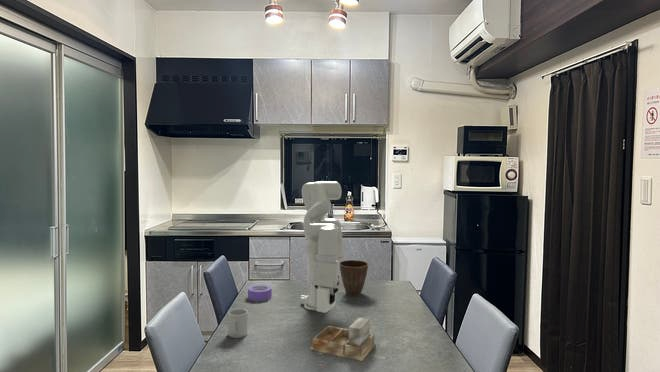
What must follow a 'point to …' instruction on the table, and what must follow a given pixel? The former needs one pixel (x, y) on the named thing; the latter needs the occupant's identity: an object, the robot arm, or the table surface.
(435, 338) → the table surface
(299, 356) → the table surface
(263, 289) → the tape roll
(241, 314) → the cup
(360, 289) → the plant pot
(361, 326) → the rack
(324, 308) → the panel
